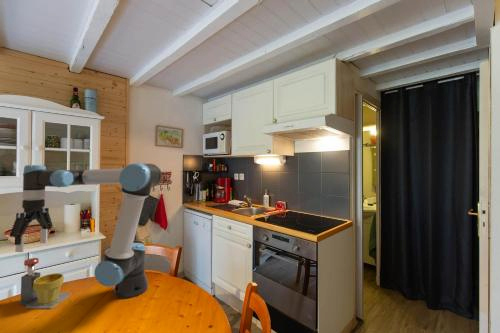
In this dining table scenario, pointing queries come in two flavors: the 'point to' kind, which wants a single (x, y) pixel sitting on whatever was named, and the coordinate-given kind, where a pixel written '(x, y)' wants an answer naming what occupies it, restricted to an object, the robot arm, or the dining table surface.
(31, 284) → the press base
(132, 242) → the robot arm
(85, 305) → the dining table surface
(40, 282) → the plant pot
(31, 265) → the ram
